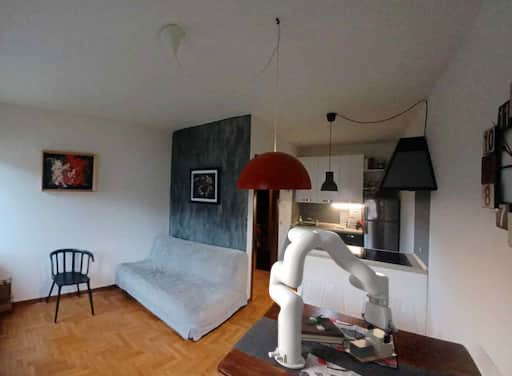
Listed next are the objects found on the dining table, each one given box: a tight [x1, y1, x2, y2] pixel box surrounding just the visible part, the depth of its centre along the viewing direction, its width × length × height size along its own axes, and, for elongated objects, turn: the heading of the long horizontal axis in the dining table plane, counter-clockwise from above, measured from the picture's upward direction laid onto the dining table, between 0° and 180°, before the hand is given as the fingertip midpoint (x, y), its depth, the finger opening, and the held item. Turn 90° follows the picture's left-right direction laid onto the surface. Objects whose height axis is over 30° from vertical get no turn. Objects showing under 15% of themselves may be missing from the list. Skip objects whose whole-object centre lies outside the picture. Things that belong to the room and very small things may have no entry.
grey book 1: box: [349, 338, 374, 353], centre depth 120 cm, size 8×5×2 cm, turn 104°
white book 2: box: [364, 336, 393, 351], centre depth 122 cm, size 8×7×2 cm
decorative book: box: [301, 314, 345, 346], centre depth 137 cm, size 19×8×30 cm
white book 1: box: [364, 327, 394, 343], centre depth 122 cm, size 8×7×2 cm
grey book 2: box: [349, 346, 374, 358], centre depth 120 cm, size 8×5×2 cm, turn 104°
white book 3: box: [374, 348, 394, 356], centre depth 122 cm, size 8×7×2 cm
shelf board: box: [344, 348, 397, 363], centre depth 121 cm, size 20×9×2 cm, turn 104°
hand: (378, 338), depth 122 cm, fingers closed on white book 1, 6 cm apart
